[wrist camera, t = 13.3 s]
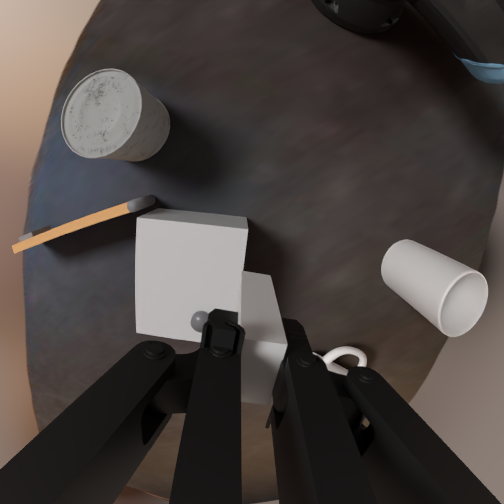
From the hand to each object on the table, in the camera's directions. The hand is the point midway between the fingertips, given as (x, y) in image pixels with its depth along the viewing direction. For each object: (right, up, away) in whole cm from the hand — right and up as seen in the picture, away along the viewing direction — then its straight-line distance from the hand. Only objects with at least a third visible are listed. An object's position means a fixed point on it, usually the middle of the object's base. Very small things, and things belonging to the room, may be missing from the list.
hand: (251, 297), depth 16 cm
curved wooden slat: (-23, +7, +23) cm, 34 cm away
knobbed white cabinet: (-8, +1, +26) cm, 27 cm away
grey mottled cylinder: (-16, +19, +21) cm, 32 cm away
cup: (+24, 0, +27) cm, 36 cm away
